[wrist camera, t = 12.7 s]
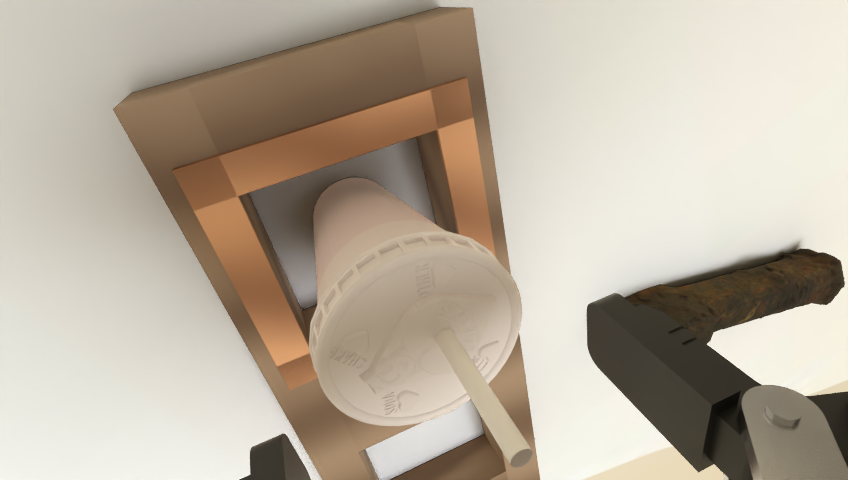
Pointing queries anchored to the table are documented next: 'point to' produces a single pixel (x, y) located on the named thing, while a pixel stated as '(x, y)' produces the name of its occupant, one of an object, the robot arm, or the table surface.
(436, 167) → the wooden tray
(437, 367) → the smoothie
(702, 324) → the hand tool
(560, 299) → the table surface
